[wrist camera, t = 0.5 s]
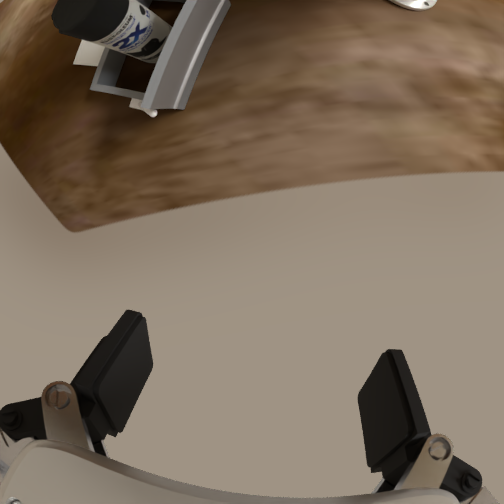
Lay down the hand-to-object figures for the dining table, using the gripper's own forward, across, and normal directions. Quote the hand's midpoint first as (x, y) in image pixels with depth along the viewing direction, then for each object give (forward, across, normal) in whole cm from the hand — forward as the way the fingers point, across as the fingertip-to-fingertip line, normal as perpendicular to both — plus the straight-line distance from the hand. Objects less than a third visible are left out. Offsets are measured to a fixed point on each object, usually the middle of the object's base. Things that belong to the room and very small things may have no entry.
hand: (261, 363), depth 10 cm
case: (+31, +17, -19) cm, 40 cm away
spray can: (+31, +20, -21) cm, 42 cm away
